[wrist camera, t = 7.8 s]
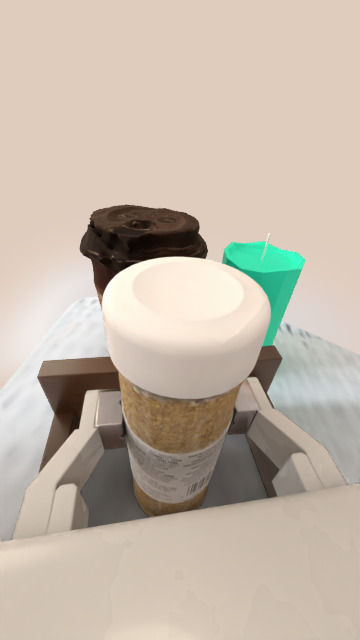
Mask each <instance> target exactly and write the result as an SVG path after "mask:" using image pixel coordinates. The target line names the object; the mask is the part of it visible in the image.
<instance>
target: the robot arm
mask: <svg viewBox="0 0 360 640" xmlns="http://www.w3.org/2000/svg"><path fill="white" fill-rule="evenodd" d="M242 433H247V435H248V436H249V437H250V438H251V439H252V440H253V441H254V442H255V444H256V445H257V446H258V447H259V448H260V449H261V450H262V451H263V452H264V453H265V454H266V455H267V457H268V458H269V459H270V460H271V461H272V462H273V463H274V464H275V465H276V466H277V467H278V468H279V471H278V473H277V474H276V475H275V477H274V478H273V480H272V483H273V486H274V489H275V491H276V494H277V496H278V497H272V498H265V499H259V500H253V501H247V502H241V503H235V504H229V505H223V506H217V507H211V508H205V509H198V510H192V511H186V512H180V513H174V514H168V515H162V516H156V517H150V518H144V519H138V520H132V521H125V522H119V523H113V524H107V525H101V526H95V527H89V528H87V527H88V517H89V508H88V506H87V505H86V503H85V501H84V499H83V497H82V495H81V493H80V492H81V491H82V489H83V487H84V485H85V484H86V482H87V480H88V479H89V477H90V475H91V474H92V472H93V470H94V469H95V467H96V465H97V464H98V462H99V460H100V459H101V457H102V455H103V453H104V452H105V451H104V450H108V449H115V448H121V447H126V431H125V425H124V418H123V411H122V395H121V389H120V388H119V389H103V390H89V391H87V392H86V394H85V399H84V404H83V410H82V415H81V421H80V426H79V429H75V430H74V432H73V433H72V434H71V435H70V436H69V438H68V439H67V440H66V441H65V442H64V444H63V445H62V446H61V447H60V449H59V450H58V451H57V452H56V453H55V455H54V456H53V457H52V458H51V459H50V461H49V462H48V463H47V464H46V466H45V467H44V468H43V469H42V470H41V472H40V473H39V474H38V475H37V476H36V478H35V479H34V480H33V481H32V483H31V484H30V485H29V486H28V487H27V489H26V492H25V496H24V499H23V502H22V506H21V509H20V512H19V516H18V519H17V522H16V526H15V529H14V532H13V536H12V539H11V540H10V541H4V542H0V640H360V483H357V484H351V485H348V484H347V482H346V481H345V479H344V477H343V476H342V474H341V472H340V471H339V469H338V467H337V466H336V464H335V462H334V461H333V459H332V457H331V456H330V454H329V452H328V450H327V449H326V448H325V447H324V446H323V445H321V444H320V443H319V442H318V441H316V440H315V439H314V438H313V437H311V436H310V435H309V434H307V433H306V432H305V431H304V430H302V429H301V428H300V427H299V426H297V425H296V424H295V423H293V422H292V421H291V420H290V419H288V418H287V417H286V416H285V415H283V414H282V413H281V412H280V411H278V410H277V409H273V408H272V406H271V404H270V402H269V400H268V398H267V396H266V394H265V392H264V390H263V388H262V386H261V384H260V382H259V380H258V379H257V378H256V377H249V378H246V379H245V381H244V382H243V383H242V385H241V388H240V390H239V393H238V396H237V400H236V404H235V407H234V410H233V417H232V420H231V423H230V426H229V429H228V434H229V435H231V434H242Z"/></svg>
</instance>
